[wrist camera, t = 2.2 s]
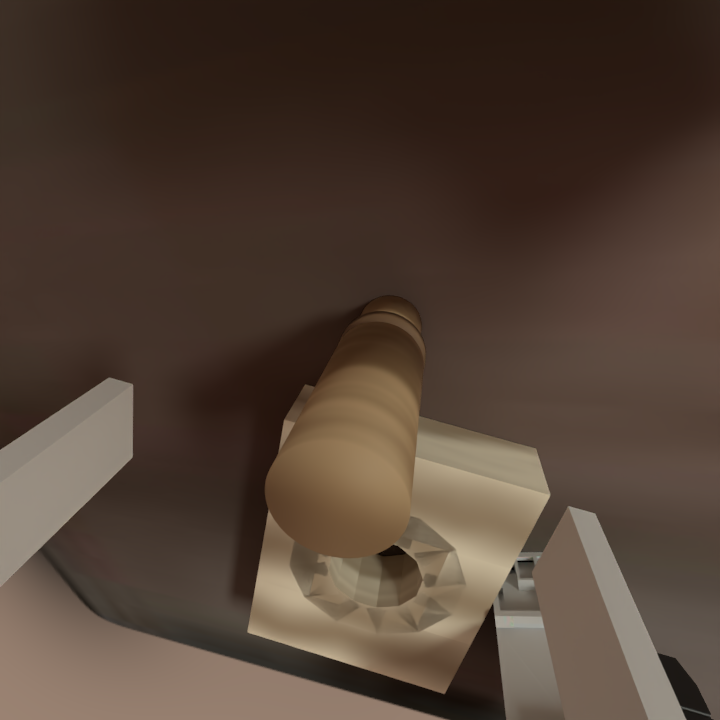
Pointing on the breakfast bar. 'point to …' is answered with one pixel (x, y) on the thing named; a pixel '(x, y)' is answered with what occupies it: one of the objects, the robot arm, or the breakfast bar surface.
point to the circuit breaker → (525, 648)
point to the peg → (355, 439)
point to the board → (409, 563)
